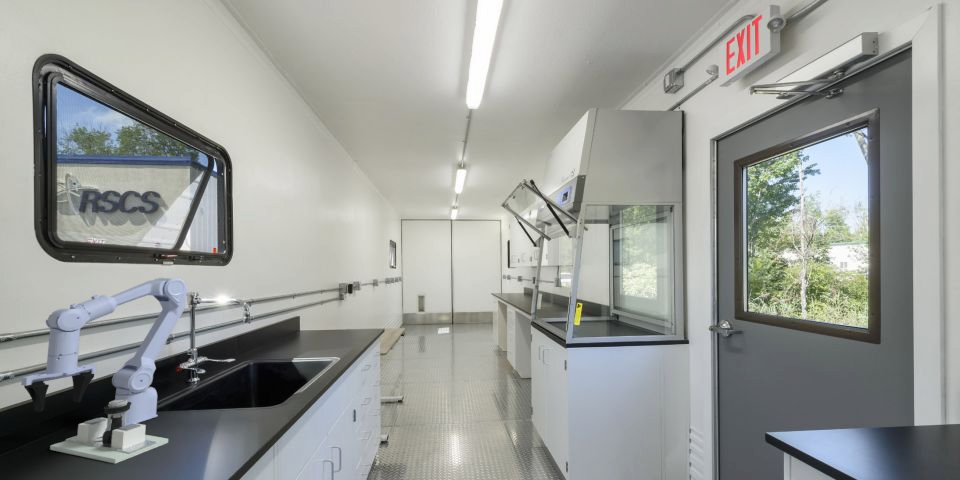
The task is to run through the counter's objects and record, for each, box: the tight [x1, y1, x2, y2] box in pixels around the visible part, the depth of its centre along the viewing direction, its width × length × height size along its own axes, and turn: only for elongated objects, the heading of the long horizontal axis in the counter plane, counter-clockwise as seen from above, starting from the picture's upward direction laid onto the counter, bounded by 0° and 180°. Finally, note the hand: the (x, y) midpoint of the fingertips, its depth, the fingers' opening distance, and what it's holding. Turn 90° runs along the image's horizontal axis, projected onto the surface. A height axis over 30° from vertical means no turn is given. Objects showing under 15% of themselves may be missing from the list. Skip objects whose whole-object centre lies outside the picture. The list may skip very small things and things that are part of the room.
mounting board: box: [49, 434, 169, 464], centre depth 103 cm, size 12×24×1 cm, turn 73°
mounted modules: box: [76, 417, 147, 449], centre depth 103 cm, size 5×17×4 cm, turn 73°
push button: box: [94, 399, 131, 444], centre depth 103 cm, size 7×5×10 cm
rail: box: [65, 435, 156, 454], centre depth 103 cm, size 6×24×1 cm, turn 73°
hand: (58, 406), depth 105 cm, fingers open, 7 cm apart
